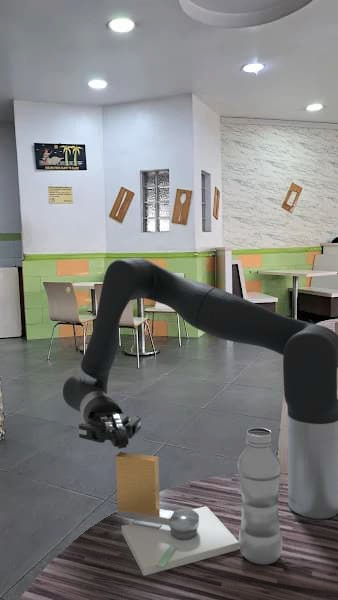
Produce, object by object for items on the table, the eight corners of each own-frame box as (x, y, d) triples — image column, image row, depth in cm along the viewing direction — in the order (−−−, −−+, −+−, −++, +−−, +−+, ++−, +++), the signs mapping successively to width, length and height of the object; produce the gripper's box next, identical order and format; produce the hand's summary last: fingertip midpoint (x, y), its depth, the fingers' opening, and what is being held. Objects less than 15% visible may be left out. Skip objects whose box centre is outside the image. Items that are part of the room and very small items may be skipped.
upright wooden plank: (202, 518, 80) (201, 457, 79) (194, 534, 75) (192, 470, 74) (126, 505, 85) (124, 448, 84) (113, 520, 80) (111, 460, 79)
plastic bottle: (283, 573, 70) (283, 441, 68) (237, 568, 71) (235, 438, 69) (282, 546, 76) (281, 425, 74) (239, 542, 77) (238, 423, 76)
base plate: (205, 510, 87) (204, 498, 87) (243, 553, 75) (242, 539, 74) (120, 530, 82) (120, 517, 81) (146, 580, 69) (145, 565, 69)
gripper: (68, 399, 98) (85, 427, 82) (130, 391, 102) (157, 417, 86) (69, 434, 98) (86, 469, 82) (130, 425, 103) (158, 457, 87)
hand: (122, 443), depth 84 cm, fingers closed
